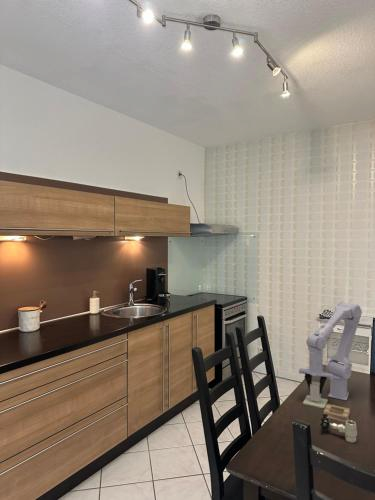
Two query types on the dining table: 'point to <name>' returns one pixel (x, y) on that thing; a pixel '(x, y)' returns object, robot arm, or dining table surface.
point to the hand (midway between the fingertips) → (315, 391)
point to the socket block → (339, 410)
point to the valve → (341, 428)
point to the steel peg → (315, 391)
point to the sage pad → (315, 402)
